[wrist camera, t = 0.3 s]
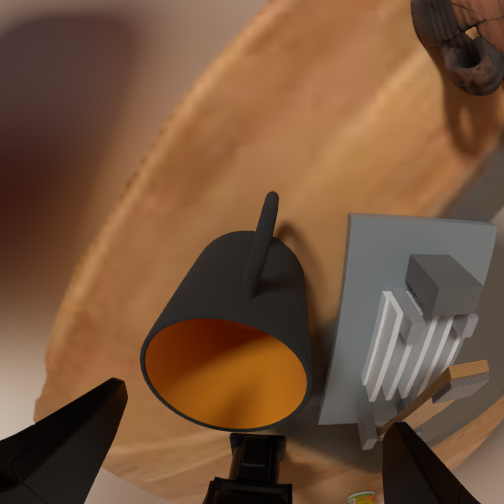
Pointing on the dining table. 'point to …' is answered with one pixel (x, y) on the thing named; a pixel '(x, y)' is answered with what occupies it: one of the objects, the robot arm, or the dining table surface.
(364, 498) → the supplement bottle
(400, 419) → the strap
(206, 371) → the mug
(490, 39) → the vr controller
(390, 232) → the board
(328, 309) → the dining table surface
